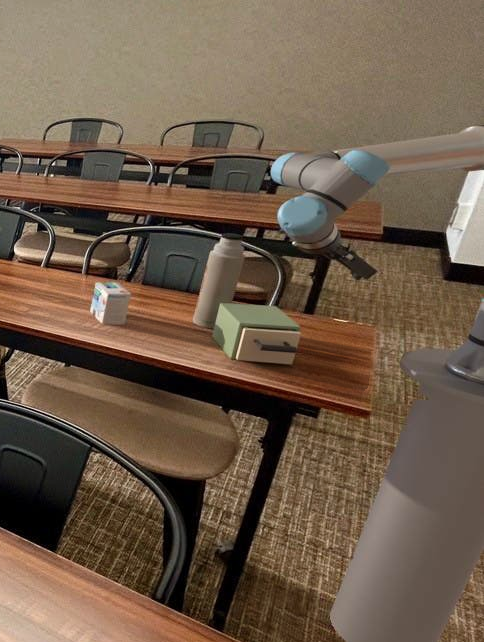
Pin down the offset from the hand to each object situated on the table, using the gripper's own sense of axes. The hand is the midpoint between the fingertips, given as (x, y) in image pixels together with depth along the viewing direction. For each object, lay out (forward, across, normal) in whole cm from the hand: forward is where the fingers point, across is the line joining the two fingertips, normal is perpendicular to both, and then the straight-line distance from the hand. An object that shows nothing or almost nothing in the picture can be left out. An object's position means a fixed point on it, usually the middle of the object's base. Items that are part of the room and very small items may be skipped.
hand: (331, 259), depth 140 cm
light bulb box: (+6, -29, -45) cm, 54 cm away
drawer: (+8, +4, -27) cm, 29 cm away
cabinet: (+12, +1, -28) cm, 30 cm away
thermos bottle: (+22, -14, -28) cm, 39 cm away
